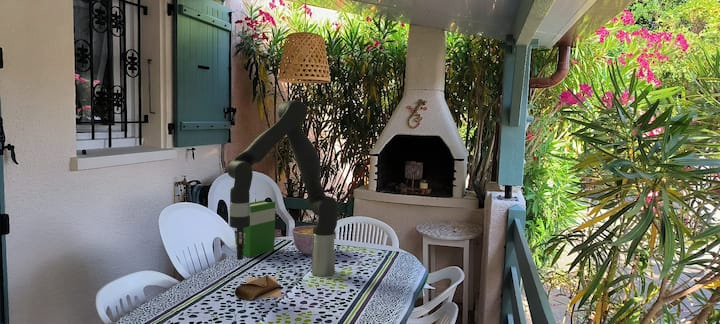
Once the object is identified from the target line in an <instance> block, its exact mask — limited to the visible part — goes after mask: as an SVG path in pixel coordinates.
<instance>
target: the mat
mask: <svg viewBox="0 0 720 324" xmlns="http://www.w3.org/2000/svg"><path fill="white" fill-rule="evenodd" d="M259 278H260V277H258V278H257V277H256V278H245V284H246V283H249V282H251V281H253V280H256V279H259ZM270 278H271V279H272V280H273V281H275V282H276V283H277V284H279V283H278V280H277V278H276V277H270ZM280 289H281V288H280V287H279V288H277V289H275V290H273V291H271V292H269V293H266V294H264V295H261V296H259V297H257V298H256V299H263V298H279V297H281V298H282V297H283V295H282V293H281V290H280Z"/></svg>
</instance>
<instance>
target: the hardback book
mask: <svg viewBox="0 0 720 324" xmlns="http://www.w3.org/2000/svg"><path fill="white" fill-rule="evenodd" d="M275 228H276V201H271V202H266V200H258V201H253V202H252V201H251V202H250V226H249V227H246V228H243V230H245V233H246V236H245V244H244V249H243V257H246V258H252V257H255V256H258V255H262V254H267V253H268V252H271V251H274V250H275V238H276V237H275V233H276V232H275V231H276V229H275Z"/></svg>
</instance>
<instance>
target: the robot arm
mask: <svg viewBox="0 0 720 324" xmlns="http://www.w3.org/2000/svg"><path fill="white" fill-rule="evenodd" d="M277 116H278V118H279V119H278V121H276V123H275V124H273V125H272V126H270V128H267V129H266V130H265V131H263V132H262V133H261V134H260V135H259V136H257V137H256V138H255V139H254V140H253V141H252V142H251V143H250V144H249V146H248V147H247V148H246V149H245V150H244V151H242V152H241V153H240V154H239V155H238V154H237V156H235V158H233V159H232V161H230V162H229V164H228V165H227V168H226V169H227V175H228V176H229V177H230V178H232V179H234V183H233V186H231V188H230V192H229V194H230V196H229V199H230V200H229V227H231V228H233V229H236V230H234V231H233V232H234V242H235V243H234V244H235V245H236V248H235V249H236V260H237V261H241V260H244V256H243V249H244V244H245V236H246V233H245V230H243V228H246V227H249V226H250V203H251V202H250V189H251V186H252V181H253V175H254V173H253V172H254V171H253V167H252V166H254V165H255V164H259V163H261V162H262V161H263V160H264V158H266V156H267V155H268V154H269V152H271V151H272V150H273V148H274V147H275V146H276V145H277V144H278V143H279V142H280V141H281V140H282V139H283V138H284V137H287V138H288V141H289V144H290V148H291V150H292V152H293V155H294V159H295V163H296V164H297V168H298V170H299V172H300V176H301V178H302V181H303V185H304V186H305V187H304V188H305V191H306V194H307V199H308V203H309V208H310V210H311V212H312V213H313V214H314V215H315V216H318V218H317V219H318V220H317V224H315V225H313V226H314V227H313V245H312V255H311V274H312V275H314V276H317V277H326V276H327V277H328V276H331V275H335V270H336V268H335V267H336V266H335V265H336V251H335V237H336V236H335V234H336V229H337V226H338V225H337V224H338V215H339V205H338V200H336V198H334V197H332V196H330V195H326V193H325V191H324V188H323V186H322V182H321V175H322V165H321V160H320V157H319V155H318V151H317V150H316V148H315V145H314V144H313V143H312V142H311V140H310V139H309V137H307V135H306V133H305V131H304V130H303V126H302V124H301V123H303V122H304V120H306V117H307V116H308V108H307V105H306V104H305V103H304V102H302V101H301V100H297V99H296V100H285V101H282V102H281V103H279V104H278V107H277Z"/></svg>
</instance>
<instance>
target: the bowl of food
mask: <svg viewBox="0 0 720 324" xmlns="http://www.w3.org/2000/svg"><path fill="white" fill-rule="evenodd" d="M314 226H315V225H301V226H300V225H299V226H296V227H293V228H291V231H292V237H293V240H294V241H293V242H294V246H295V248H296V249H297V251H299V252H301V253H302V254H304V255H305V254H306V256H312V245H313V227H314Z"/></svg>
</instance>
